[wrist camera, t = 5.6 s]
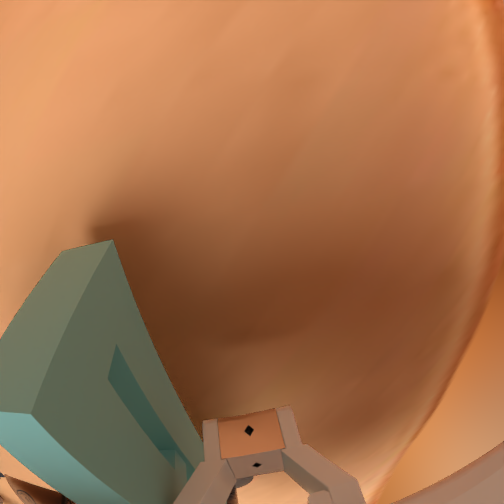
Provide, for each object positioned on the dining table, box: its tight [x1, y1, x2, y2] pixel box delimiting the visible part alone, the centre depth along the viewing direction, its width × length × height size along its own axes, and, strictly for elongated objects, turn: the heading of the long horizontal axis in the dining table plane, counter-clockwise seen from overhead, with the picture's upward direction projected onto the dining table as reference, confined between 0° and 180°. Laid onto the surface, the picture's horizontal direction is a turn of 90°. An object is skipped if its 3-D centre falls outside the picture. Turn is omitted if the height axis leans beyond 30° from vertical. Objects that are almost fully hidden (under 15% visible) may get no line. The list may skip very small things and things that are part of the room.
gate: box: [0, 239, 227, 504], centre depth 9 cm, size 16×2×6 cm, turn 8°
